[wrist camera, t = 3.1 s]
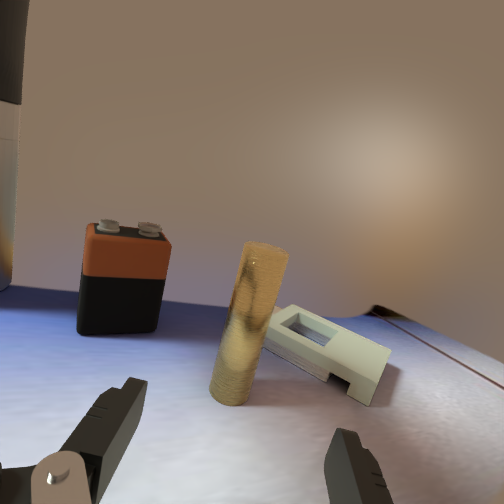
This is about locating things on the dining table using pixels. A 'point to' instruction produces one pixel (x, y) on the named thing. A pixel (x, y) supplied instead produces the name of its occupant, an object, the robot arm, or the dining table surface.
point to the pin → (247, 322)
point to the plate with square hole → (333, 350)
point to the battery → (122, 278)
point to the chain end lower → (296, 358)
